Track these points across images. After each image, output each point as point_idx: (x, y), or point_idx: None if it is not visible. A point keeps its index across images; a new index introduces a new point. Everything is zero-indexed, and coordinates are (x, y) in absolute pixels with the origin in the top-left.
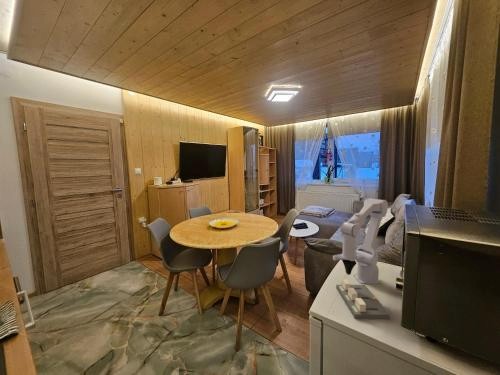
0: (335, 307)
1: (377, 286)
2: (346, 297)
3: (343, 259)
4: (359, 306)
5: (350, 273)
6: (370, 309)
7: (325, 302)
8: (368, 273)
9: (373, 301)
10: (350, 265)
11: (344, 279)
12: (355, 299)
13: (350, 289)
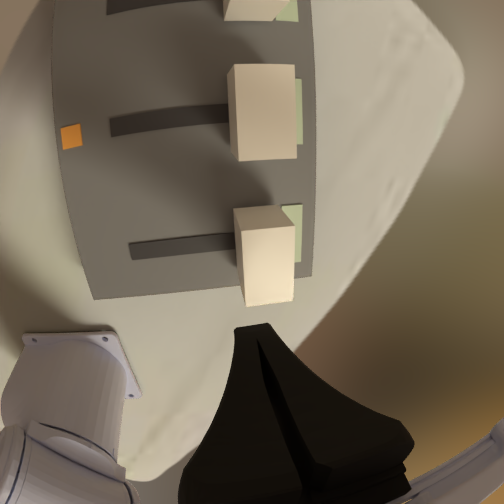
0: (378, 66)
1: (30, 309)
2: (301, 114)
3: (402, 491)
4: None
5: (239, 335)
6: None
7: (416, 116)
8: (55, 385)
9: (92, 90)
10: (278, 432)
11: (271, 299)
12: (285, 3)
13: (283, 130)
